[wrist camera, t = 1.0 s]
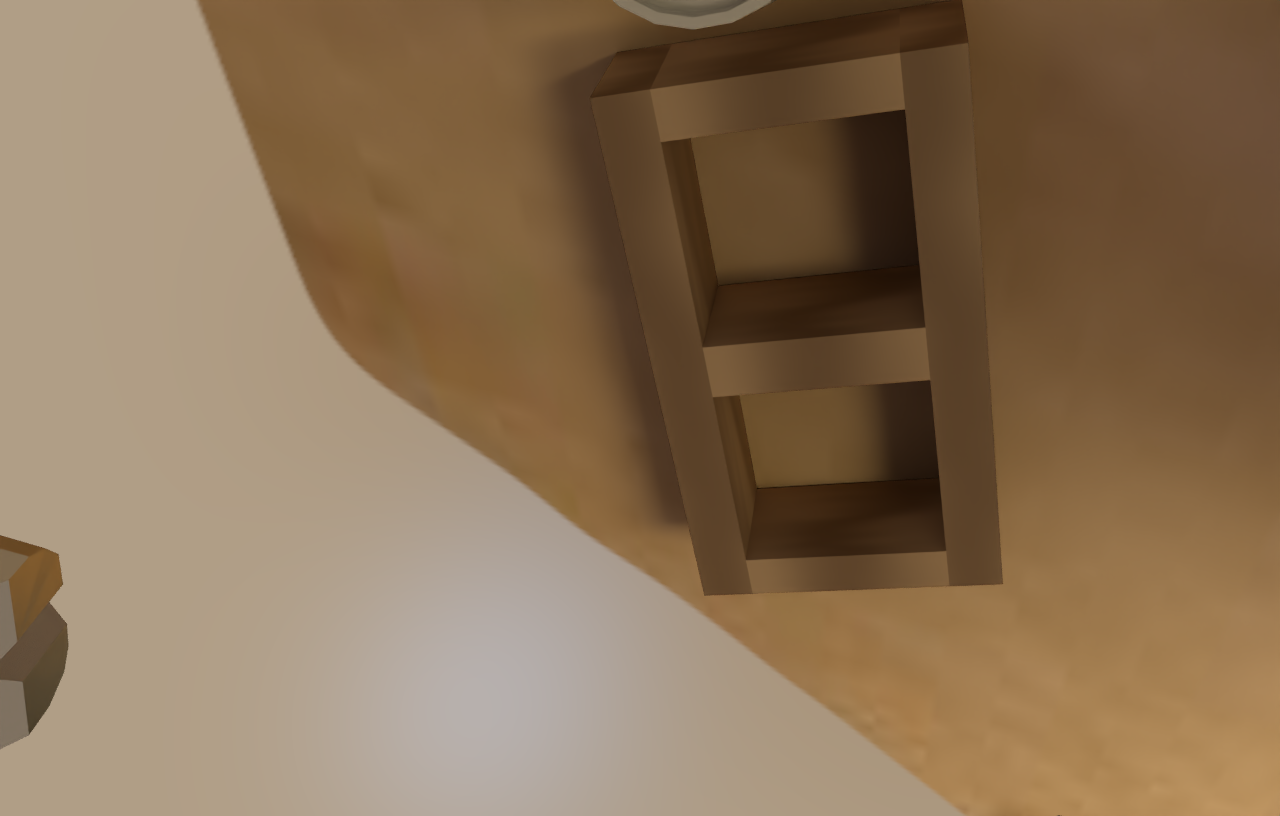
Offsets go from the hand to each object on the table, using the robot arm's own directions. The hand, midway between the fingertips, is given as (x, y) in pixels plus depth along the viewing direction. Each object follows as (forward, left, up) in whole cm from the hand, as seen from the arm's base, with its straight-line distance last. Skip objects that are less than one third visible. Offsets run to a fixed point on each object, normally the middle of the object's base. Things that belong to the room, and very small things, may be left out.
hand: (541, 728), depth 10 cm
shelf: (+1, +12, -29) cm, 32 cm away
